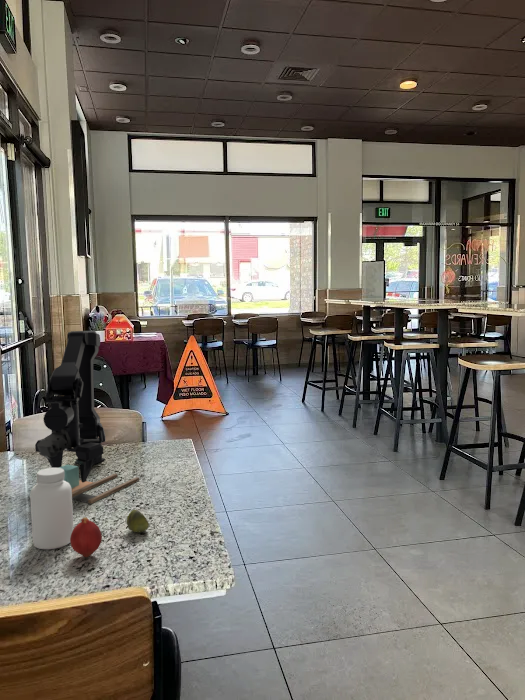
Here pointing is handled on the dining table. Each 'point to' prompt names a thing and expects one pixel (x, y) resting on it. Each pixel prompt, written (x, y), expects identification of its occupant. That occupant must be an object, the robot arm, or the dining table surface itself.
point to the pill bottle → (51, 509)
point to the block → (71, 475)
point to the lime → (137, 521)
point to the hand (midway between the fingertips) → (70, 479)
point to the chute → (87, 498)
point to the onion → (86, 537)
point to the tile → (81, 485)
